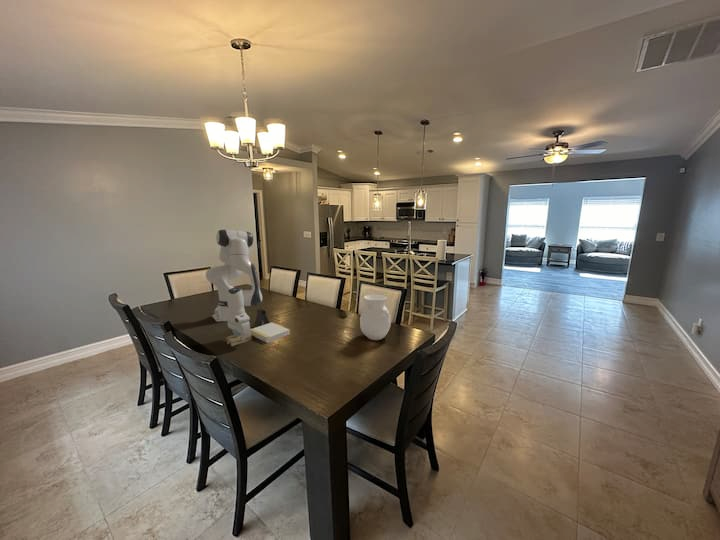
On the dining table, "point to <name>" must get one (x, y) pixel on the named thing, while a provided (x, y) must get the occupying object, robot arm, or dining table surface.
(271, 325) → the dock
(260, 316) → the phone stand
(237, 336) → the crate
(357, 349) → the dining table surface
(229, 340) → the pallet
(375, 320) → the white vase
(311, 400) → the dining table surface
